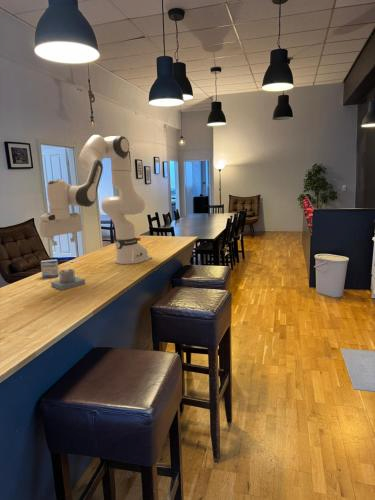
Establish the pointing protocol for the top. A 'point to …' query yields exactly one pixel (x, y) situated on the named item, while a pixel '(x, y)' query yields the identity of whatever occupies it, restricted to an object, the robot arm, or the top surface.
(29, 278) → the top surface
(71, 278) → the tube
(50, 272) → the medicine box
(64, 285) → the shaft block
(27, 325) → the top surface
